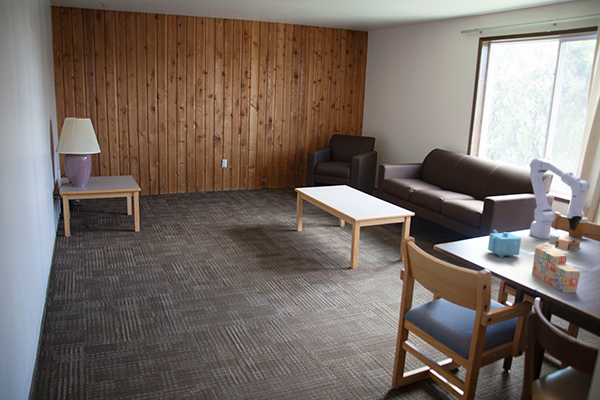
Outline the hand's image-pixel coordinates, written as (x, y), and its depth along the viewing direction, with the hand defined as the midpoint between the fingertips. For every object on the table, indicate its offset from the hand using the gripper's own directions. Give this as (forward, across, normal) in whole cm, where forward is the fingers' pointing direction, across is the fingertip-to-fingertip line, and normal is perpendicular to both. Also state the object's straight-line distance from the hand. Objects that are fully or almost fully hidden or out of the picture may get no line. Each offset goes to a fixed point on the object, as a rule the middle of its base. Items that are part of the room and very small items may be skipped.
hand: (572, 229), depth 244 cm
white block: (+9, -2, +8) cm, 12 cm away
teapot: (+10, -40, +14) cm, 44 cm away
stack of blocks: (+10, -55, -17) cm, 58 cm away
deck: (+10, -8, +3) cm, 13 cm away
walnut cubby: (+9, -3, 0) cm, 9 cm away
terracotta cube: (+9, -6, 0) cm, 11 cm away
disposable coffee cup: (+10, +22, +6) cm, 25 cm away
